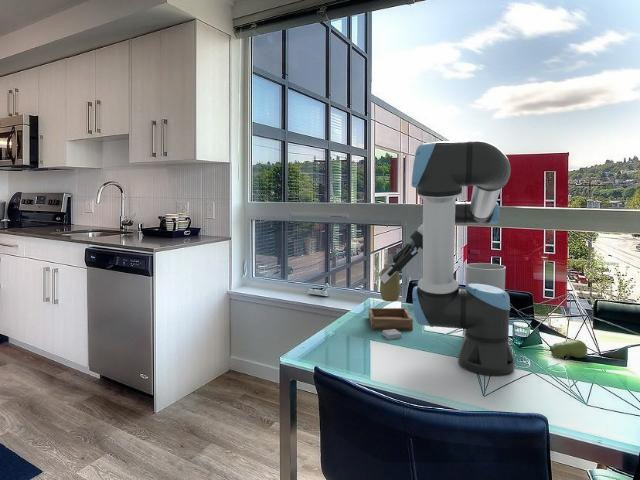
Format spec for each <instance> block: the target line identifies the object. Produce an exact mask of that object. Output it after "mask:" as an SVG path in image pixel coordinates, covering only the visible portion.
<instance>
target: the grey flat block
mask: <svg viewBox="0 0 640 480" xmlns="http://www.w3.org/2000/svg"><path fill="white" fill-rule="evenodd" d="M402 335H403V334H402V332H400V330H396V329H390V330H382V336H383V337H385V338H386V339H387V340H396V339H397V340H398V339H402V338H403V337H402Z"/></svg>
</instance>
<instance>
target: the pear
mask: <svg viewBox="0 0 640 480" xmlns="http://www.w3.org/2000/svg"><path fill="white" fill-rule="evenodd" d="M549 351H550V353H551V354H552V356H553V357H555V358H564V357H566V356H569V357H573V358H577V359H581V358H584V357H585V356H586V355H588V347H587V345H586V344H585V342H584V341H582V340H579V339H567V340H564V341H562V342H556V343H554V344H552V345H550V346H549Z"/></svg>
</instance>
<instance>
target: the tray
mask: <svg viewBox="0 0 640 480" xmlns="http://www.w3.org/2000/svg"><path fill="white" fill-rule="evenodd" d="M368 320H369V324H370V328H371V331H383V330H390V329H396V330H397V331H413V330H414V329H413V328H414V326H413V325H414V324H413V322H414V320H413V317H412V316H411V314H410V313H409V311H408V309H407V308H406V307H404V308H403V307H401V308H400V307H397V308H396V307H392V308H390V307H384V308H383V307H382V308H380V307H375V308H374V307H370V308H369V307H368Z"/></svg>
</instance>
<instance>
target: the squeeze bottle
mask: <svg viewBox="0 0 640 480" xmlns="http://www.w3.org/2000/svg"><path fill="white" fill-rule="evenodd" d="M394 264H395V263H393V255H392V253H389V254H388V255H387V260H386V262H385V263H383V268H384V269H383V268H382V269H383V270H382V269H381V270H382V272H381V276H382V275H383V274H384V273H385V272H386V271H387V270H388V269H389V268H390V267H391V265H394ZM401 291H402V290H401V280H400V271H397V272H396V273H395V274H394V275H393V276H392V277H391V278H390V279H389V280H388V281H387V282H386V283H385V284H384V283H383V282H382V281H381V280H380V284H379V293H380V296H381V298H382V301H384V302H390V303H391V302H396V301H399V298H400V294H401Z"/></svg>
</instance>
